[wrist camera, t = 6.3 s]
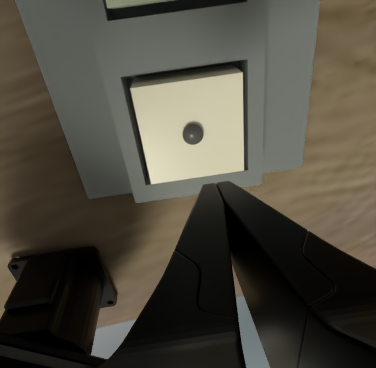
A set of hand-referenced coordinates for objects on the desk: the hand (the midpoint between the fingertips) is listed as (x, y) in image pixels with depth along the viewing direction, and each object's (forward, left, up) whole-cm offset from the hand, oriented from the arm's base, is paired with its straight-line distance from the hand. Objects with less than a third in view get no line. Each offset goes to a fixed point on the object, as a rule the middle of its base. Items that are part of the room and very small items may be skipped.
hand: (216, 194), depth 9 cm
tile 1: (0, 0, -8) cm, 8 cm away
